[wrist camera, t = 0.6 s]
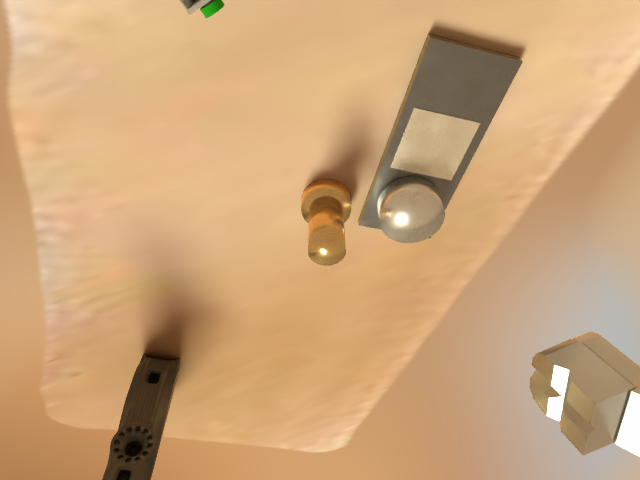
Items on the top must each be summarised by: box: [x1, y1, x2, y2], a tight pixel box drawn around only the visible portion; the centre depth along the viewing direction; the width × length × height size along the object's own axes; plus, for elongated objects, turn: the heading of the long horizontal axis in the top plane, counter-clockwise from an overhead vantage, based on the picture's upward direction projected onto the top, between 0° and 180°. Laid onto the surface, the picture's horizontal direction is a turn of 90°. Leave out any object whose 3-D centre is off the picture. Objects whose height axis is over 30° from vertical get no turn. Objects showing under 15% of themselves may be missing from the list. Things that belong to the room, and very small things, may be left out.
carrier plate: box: [358, 34, 523, 243], centre depth 48 cm, size 22×9×4 cm, turn 167°
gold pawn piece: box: [301, 179, 351, 265], centre depth 51 cm, size 6×6×9 cm
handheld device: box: [102, 354, 179, 480], centre depth 69 cm, size 6×15×25 cm, turn 167°
